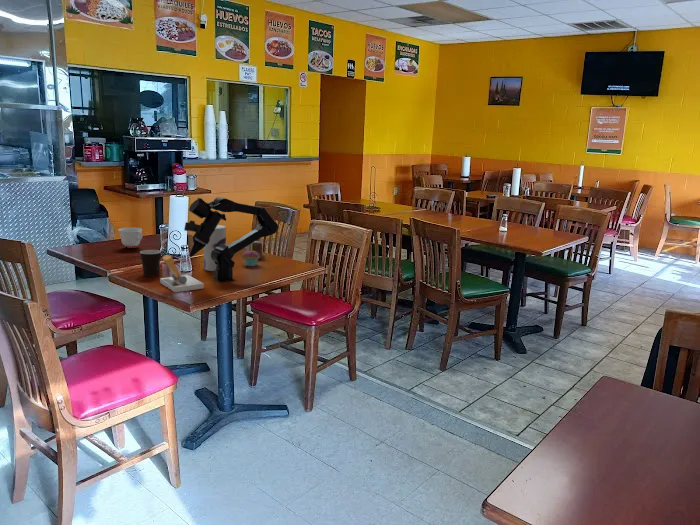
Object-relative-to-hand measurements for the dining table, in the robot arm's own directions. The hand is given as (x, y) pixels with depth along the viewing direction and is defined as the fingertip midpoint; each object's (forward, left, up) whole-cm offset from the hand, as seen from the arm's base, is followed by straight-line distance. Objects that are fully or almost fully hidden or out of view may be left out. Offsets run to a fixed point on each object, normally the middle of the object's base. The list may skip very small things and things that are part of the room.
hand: (190, 256), depth 228 cm
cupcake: (-38, -19, -12) cm, 44 cm away
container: (-20, -20, -12) cm, 31 cm away
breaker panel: (+4, 0, -12) cm, 12 cm away
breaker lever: (+5, 0, -9) cm, 10 cm away
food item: (-50, -36, -12) cm, 63 cm away
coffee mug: (+7, -25, -12) cm, 29 cm away
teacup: (-2, -82, -12) cm, 83 cm away
